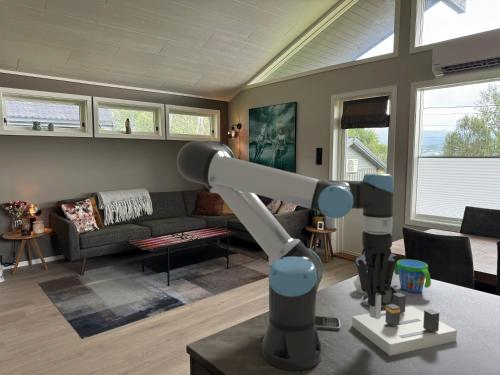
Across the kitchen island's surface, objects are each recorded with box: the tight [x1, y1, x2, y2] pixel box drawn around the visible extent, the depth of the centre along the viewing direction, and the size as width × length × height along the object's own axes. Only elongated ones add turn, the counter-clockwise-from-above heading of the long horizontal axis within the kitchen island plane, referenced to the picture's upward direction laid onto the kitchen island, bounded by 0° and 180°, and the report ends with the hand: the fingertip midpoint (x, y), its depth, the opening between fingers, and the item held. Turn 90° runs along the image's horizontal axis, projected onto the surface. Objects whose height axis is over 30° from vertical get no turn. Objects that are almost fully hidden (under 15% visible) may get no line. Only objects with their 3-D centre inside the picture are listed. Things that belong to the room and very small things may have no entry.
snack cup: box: [393, 259, 432, 293], centre depth 130 cm, size 16×10×10 cm
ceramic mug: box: [361, 285, 399, 309], centre depth 117 cm, size 11×8×8 cm
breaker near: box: [423, 308, 440, 333], centre depth 93 cm, size 2×3×5 cm
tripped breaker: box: [385, 304, 400, 326], centre depth 96 cm, size 3×3×5 cm
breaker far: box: [392, 292, 407, 313], centre depth 104 cm, size 2×3×5 cm
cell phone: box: [315, 315, 341, 331], centre depth 103 cm, size 6×11×1 cm, turn 79°
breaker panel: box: [351, 305, 458, 356], centre depth 98 cm, size 22×16×3 cm
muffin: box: [353, 274, 367, 294], centre depth 128 cm, size 6×6×7 cm
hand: (375, 316), depth 94 cm, fingers closed
